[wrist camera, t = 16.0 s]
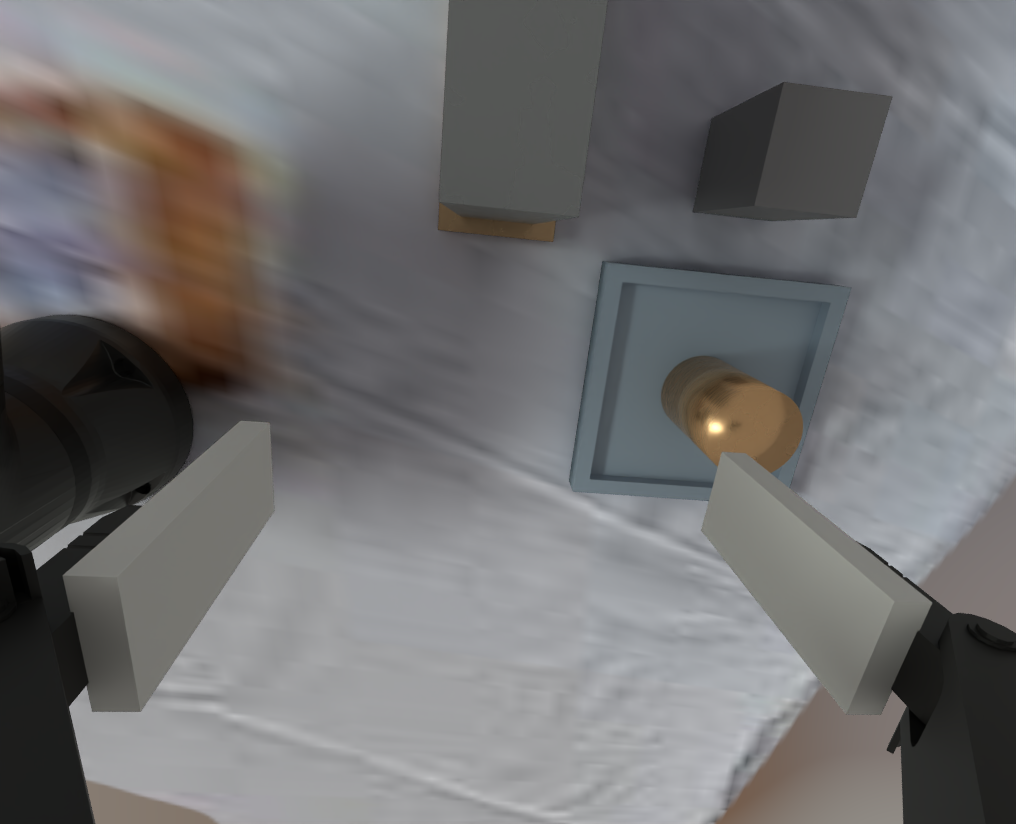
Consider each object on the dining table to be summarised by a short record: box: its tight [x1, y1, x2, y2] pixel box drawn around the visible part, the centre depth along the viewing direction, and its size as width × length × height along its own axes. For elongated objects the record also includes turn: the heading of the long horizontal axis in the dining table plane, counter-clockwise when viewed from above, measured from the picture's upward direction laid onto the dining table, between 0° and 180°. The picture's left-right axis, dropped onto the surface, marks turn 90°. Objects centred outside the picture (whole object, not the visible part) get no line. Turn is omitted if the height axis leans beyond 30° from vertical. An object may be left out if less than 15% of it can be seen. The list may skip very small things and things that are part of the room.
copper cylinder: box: [661, 356, 803, 473], centre depth 36 cm, size 6×6×9 cm
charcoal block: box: [693, 82, 892, 221], centre depth 32 cm, size 6×6×9 cm
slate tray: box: [569, 261, 851, 501], centre depth 40 cm, size 18×18×2 cm
